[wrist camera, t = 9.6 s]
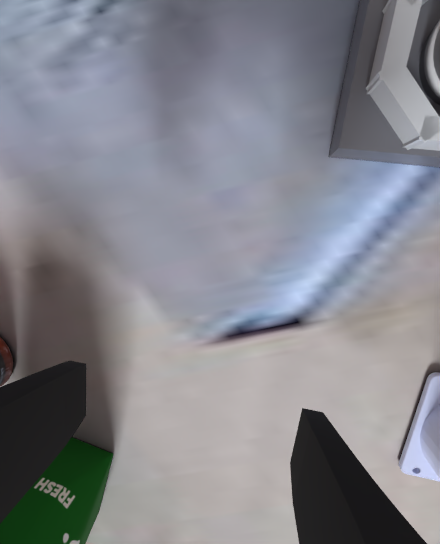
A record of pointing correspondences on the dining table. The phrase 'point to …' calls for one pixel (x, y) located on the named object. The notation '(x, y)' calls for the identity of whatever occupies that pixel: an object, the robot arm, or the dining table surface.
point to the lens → (431, 65)
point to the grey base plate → (388, 87)
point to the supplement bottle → (5, 362)
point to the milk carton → (61, 499)
